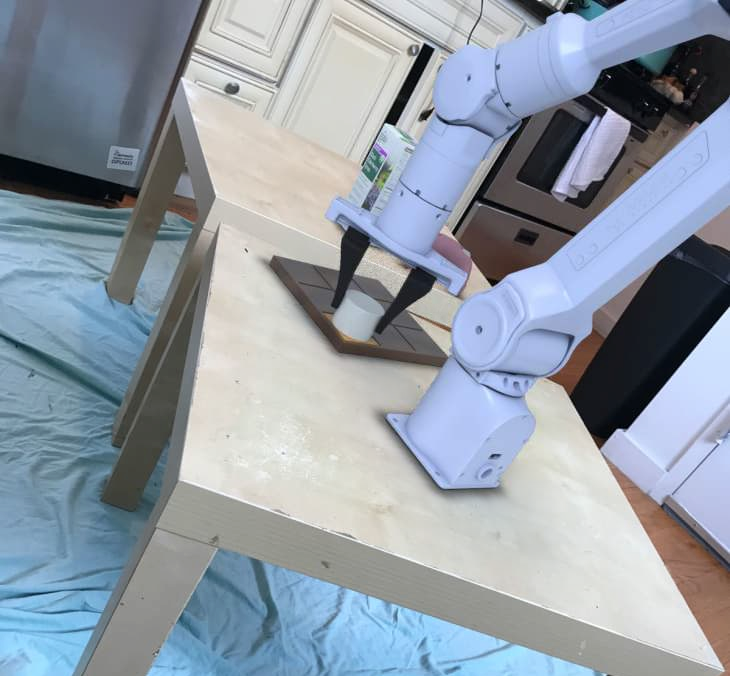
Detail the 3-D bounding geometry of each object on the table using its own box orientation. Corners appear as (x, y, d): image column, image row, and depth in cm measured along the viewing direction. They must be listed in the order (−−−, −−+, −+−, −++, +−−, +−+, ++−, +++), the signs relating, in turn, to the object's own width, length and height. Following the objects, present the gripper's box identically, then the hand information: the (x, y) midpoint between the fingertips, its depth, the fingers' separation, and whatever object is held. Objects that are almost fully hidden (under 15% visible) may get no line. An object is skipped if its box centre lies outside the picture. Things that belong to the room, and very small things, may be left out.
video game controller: (454, 299, 111) (476, 256, 110) (462, 297, 106) (485, 252, 106) (396, 267, 109) (418, 223, 108) (402, 263, 104) (425, 217, 104)
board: (445, 367, 85) (450, 358, 84) (338, 352, 74) (344, 341, 73) (374, 288, 93) (379, 279, 92) (268, 264, 82) (273, 254, 81)
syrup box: (334, 218, 106) (383, 120, 99) (366, 230, 110) (416, 136, 102) (349, 238, 103) (400, 137, 95) (382, 250, 106) (434, 153, 99)
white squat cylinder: (377, 344, 77) (393, 318, 75) (345, 339, 73) (360, 312, 72) (356, 319, 79) (370, 293, 77) (323, 313, 76) (337, 286, 74)
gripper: (493, 226, 73) (422, 340, 80) (364, 146, 71) (303, 270, 78) (492, 243, 67) (415, 364, 74) (351, 156, 65) (286, 289, 72)
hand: (357, 317), depth 75 cm, fingers closed on white squat cylinder, 4 cm apart
